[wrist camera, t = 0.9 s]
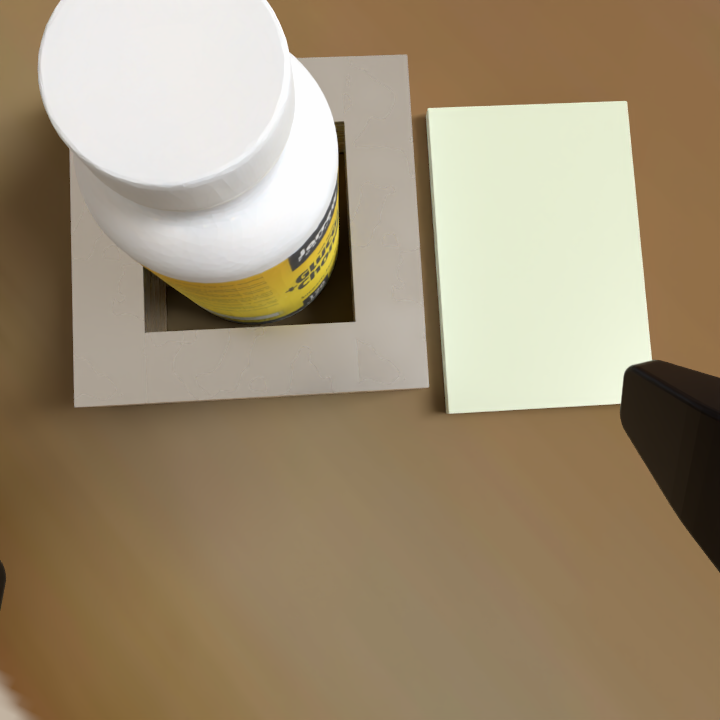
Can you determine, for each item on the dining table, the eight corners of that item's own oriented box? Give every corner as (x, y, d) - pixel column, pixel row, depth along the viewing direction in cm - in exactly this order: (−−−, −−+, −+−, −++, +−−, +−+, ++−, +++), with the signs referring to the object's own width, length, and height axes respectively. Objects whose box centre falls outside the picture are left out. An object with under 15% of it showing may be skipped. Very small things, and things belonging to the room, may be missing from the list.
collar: (418, 389, 22) (429, 387, 19) (105, 406, 21) (74, 407, 19) (399, 93, 22) (407, 54, 20) (99, 103, 22) (68, 65, 19)
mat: (646, 401, 22) (655, 401, 21) (446, 413, 21) (448, 413, 21) (619, 109, 23) (626, 100, 22) (425, 116, 22) (428, 108, 22)
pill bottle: (293, 355, 22) (238, 301, 10) (144, 281, 22) (-84, 140, 10) (367, 210, 22) (397, -2, 10) (222, 137, 22) (91, -155, 10)
